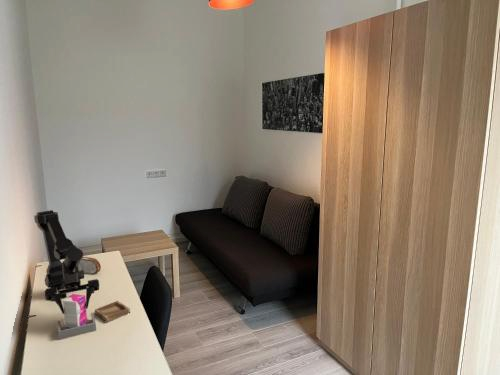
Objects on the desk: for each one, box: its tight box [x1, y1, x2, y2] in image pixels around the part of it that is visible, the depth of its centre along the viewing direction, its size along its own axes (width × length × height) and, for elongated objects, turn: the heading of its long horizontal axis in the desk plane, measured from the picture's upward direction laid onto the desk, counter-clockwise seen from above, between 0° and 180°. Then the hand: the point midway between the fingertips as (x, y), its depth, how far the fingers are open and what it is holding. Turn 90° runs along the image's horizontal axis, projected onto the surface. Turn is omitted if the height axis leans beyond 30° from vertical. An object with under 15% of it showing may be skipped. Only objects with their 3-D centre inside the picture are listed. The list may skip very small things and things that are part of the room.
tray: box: [94, 300, 131, 324], centre depth 152 cm, size 10×10×2 cm
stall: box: [57, 312, 97, 340], centre depth 141 cm, size 9×13×3 cm
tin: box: [78, 256, 102, 275], centre depth 193 cm, size 15×3×8 cm, turn 71°
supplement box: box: [62, 293, 88, 330], centre depth 141 cm, size 6×6×12 cm
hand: (75, 311), depth 139 cm, fingers closed on supplement box, 8 cm apart
